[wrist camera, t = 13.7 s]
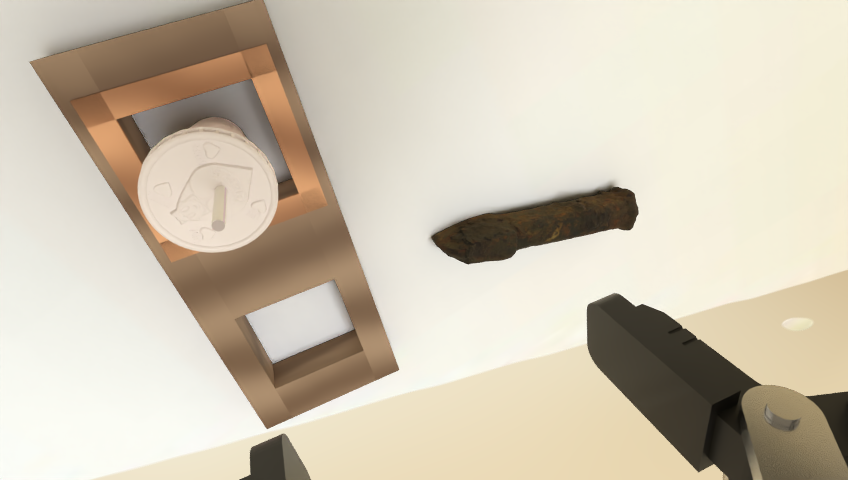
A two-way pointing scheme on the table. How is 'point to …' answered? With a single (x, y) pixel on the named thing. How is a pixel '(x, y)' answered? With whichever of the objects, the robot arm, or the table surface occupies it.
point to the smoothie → (208, 187)
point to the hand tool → (537, 226)
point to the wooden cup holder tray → (282, 240)
